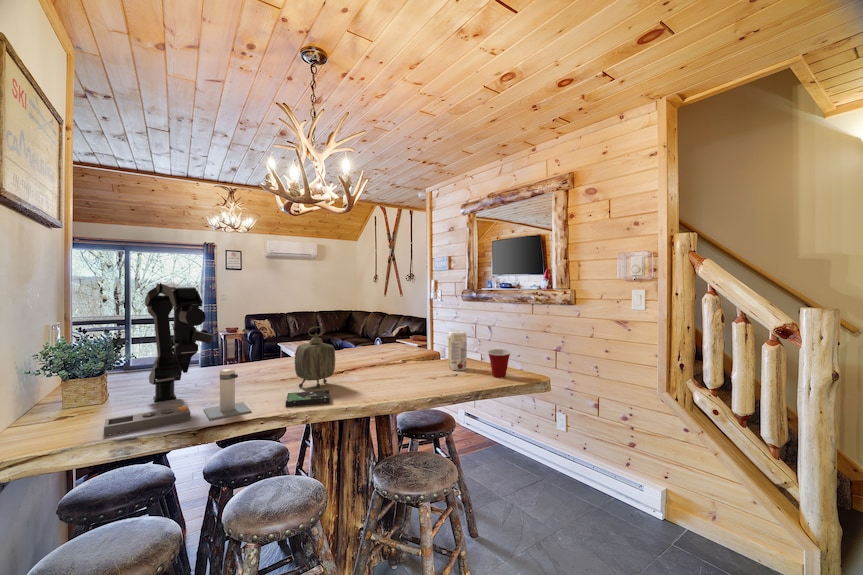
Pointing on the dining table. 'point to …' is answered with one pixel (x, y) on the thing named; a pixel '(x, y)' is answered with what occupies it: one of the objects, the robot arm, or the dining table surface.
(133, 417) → the power strip
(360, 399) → the dining table surface
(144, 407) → the dining table surface
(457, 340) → the juice carton
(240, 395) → the dining table surface
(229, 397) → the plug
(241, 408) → the mat
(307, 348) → the tabletop clock
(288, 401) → the disk drive
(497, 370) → the plastic cup
